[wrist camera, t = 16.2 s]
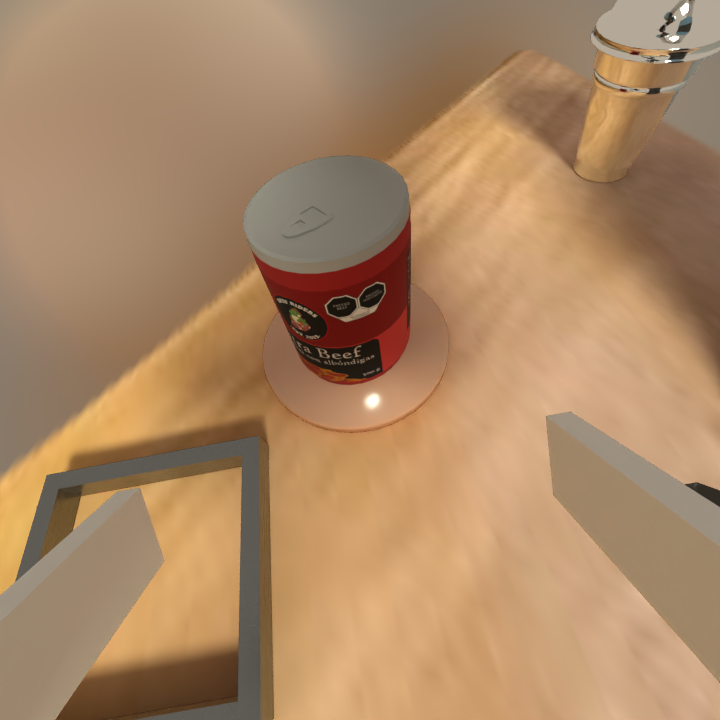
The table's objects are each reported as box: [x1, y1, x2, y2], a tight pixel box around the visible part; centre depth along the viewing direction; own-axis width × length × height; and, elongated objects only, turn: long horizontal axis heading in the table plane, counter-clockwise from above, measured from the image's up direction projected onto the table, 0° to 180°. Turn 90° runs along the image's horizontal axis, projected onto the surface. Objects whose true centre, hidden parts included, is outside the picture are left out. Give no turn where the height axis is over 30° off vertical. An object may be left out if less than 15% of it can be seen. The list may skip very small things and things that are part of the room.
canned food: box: [243, 156, 411, 385], centre depth 23 cm, size 8×8×11 cm
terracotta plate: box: [263, 283, 449, 433], centre depth 28 cm, size 13×13×1 cm
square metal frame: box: [15, 436, 274, 720], centre depth 20 cm, size 13×13×2 cm
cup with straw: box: [573, 0, 720, 182], centre depth 27 cm, size 8×9×20 cm
